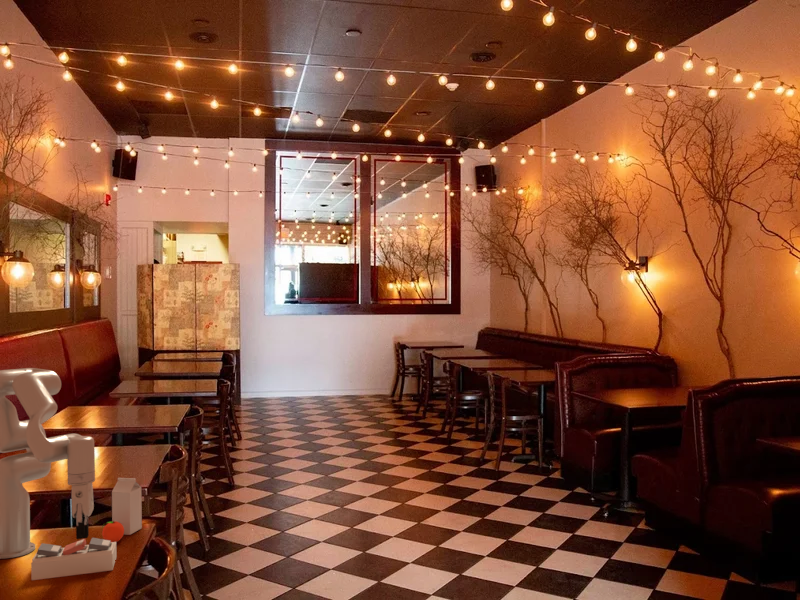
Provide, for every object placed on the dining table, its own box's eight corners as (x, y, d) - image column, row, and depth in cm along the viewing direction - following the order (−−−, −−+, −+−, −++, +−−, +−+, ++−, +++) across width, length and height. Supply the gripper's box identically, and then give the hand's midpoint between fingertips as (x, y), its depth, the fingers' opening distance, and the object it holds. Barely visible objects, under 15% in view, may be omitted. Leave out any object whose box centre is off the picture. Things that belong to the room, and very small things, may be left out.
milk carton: (130, 535, 232) (129, 481, 232) (112, 534, 233) (111, 480, 234) (142, 528, 239) (141, 476, 239) (124, 527, 240) (123, 475, 240)
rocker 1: (36, 554, 195) (37, 549, 196) (40, 547, 201) (41, 542, 201) (56, 557, 197) (58, 552, 197) (60, 550, 202) (61, 545, 202)
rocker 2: (88, 548, 200) (89, 543, 200) (90, 542, 205) (92, 537, 205) (107, 551, 201) (108, 546, 201) (109, 544, 207) (111, 540, 207)
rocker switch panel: (31, 580, 194) (31, 559, 194) (39, 566, 204) (39, 547, 204) (112, 570, 200) (112, 550, 201) (116, 557, 211) (116, 538, 211)
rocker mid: (64, 556, 198) (62, 551, 198) (67, 549, 203) (65, 545, 203) (83, 548, 199) (82, 544, 199) (86, 542, 205) (85, 538, 204)
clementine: (94, 544, 223) (94, 523, 223) (108, 537, 230) (108, 517, 230) (115, 546, 221) (115, 525, 221) (128, 539, 228) (128, 518, 228)
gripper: (91, 482, 196) (92, 544, 196) (98, 471, 210) (99, 528, 210) (63, 484, 194) (64, 547, 193) (72, 473, 208) (73, 531, 208)
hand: (82, 537), depth 202 cm, fingers closed
